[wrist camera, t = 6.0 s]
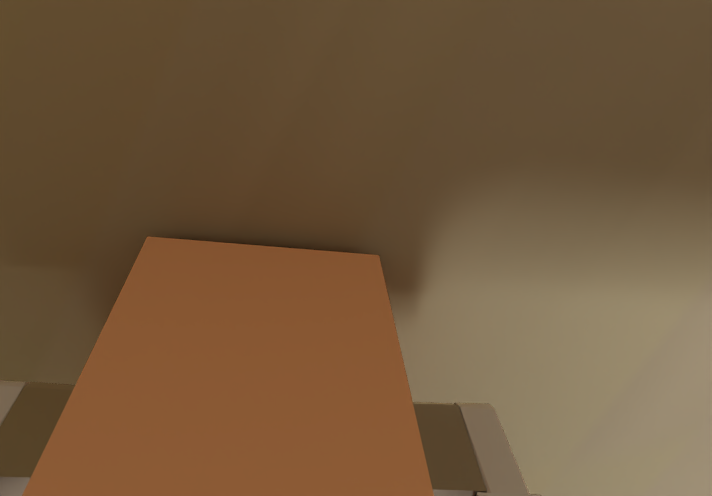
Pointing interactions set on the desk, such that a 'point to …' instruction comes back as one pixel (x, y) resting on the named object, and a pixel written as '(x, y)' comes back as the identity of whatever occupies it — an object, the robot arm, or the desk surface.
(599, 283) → the desk surface
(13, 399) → the robot arm
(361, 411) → the cube on a stick
